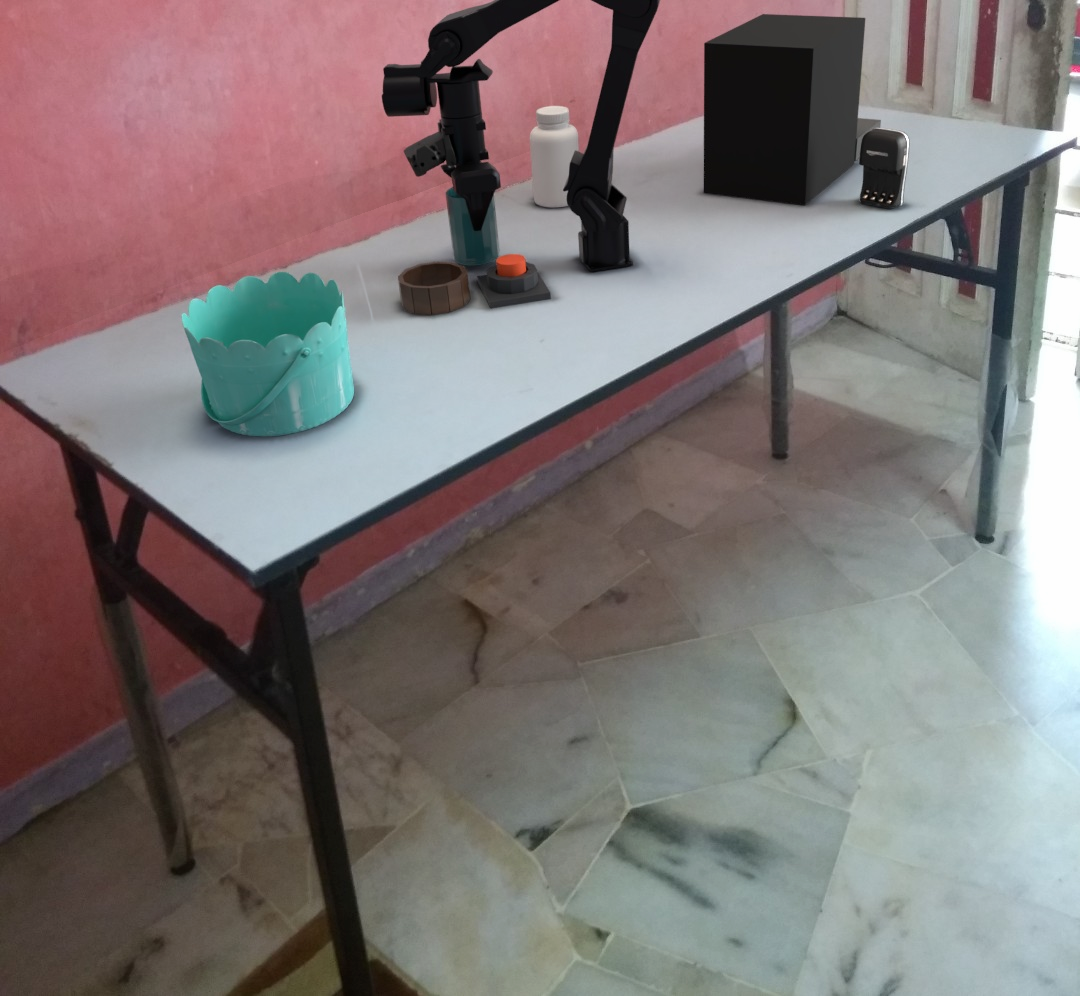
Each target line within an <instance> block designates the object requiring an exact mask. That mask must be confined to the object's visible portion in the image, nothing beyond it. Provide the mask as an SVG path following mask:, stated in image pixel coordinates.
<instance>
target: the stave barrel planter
mask: <svg viewBox="0 0 1080 996" xmlns="http://www.w3.org/2000/svg"><path fill="white" fill-rule="evenodd" d="M397 283H398V289H399V295H400V302H401V306H402V310H404V311H406V312H407V313H410V314H412V315H417V316H436V315H443V314H450V313H452V312H456V311H457V310H460V309H462V308H464V307H465V306H466V305H467V304H468V303H469V302H470V300H471V293H470V284H469V275H468V270H467V269H466V266H465V265H462V264H459V263H457V262H453V261H430V262H424V263H419V264H416V265H414V266H410V267H408V268H405V269H403V271H402V272H400V273H399V274H398V275H397Z"/></svg>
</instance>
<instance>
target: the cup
mask: <svg viewBox="0 0 1080 996" xmlns="http://www.w3.org/2000/svg"><path fill="white" fill-rule="evenodd" d="M445 201H446V209H447V218H448V226H449V233H450V241H451V251H452V256H453V260H454V263H456V264H459V265H462V266H482V265H486V264H490V263H492V262H494V261H496V260H497V258H499V257H500V251H501V249H500V242H499V231H498V222H497V221H498V220H497V209H496V199H495V194H494V195H493V198H492V200H491V203H490V206H489V209H488V212H487V215H486V218H485V221H484V224H483V227H482V230H480V231H474V229H473V226H472V223H471V220H470V216H469V213H468V210H467V206H466V203H465V199H464V198H462V197H461V196H459V195H457V194H456V193H455V191H454V190H453V188H452V187H450V188H448V189H447V190H446V191H445Z"/></svg>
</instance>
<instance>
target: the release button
mask: <svg viewBox="0 0 1080 996" xmlns="http://www.w3.org/2000/svg"><path fill="white" fill-rule="evenodd" d="M495 262H496V263H495V264H496V265H497V273H498V275H499V276H502V277H514V276H520V275H522V274H525V273H526V264H525V262H526V257H525V256H524V255H522V254H519V253H518V254H517V253H509V254H508V253H507V254H503V255H500V256H499V257H498V258H497V259H496V260H495Z"/></svg>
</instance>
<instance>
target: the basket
mask: <svg viewBox="0 0 1080 996" xmlns="http://www.w3.org/2000/svg"><path fill="white" fill-rule="evenodd" d="M205 297H206V298H205V301H204V300H203V299H201V298H193V299H191V300H190V301H189V303H188V309H187V311H188V312H187V313H188V314H186V313H185V312H183V313H181V316H180V317H181V322H182V326H183V329H184V332H185V335H186V338H187V341H188V343H189V346H190V351H191V352H192V355H193V358H194V362H195V364H196V366H197V369H198V373H199V375H200V378H201V384H200V394H201V395H200V396H201V402H202V407H203V408H204V411H205V413H206V414H207V416H208V417H209V418H210V419H211V420H213V421H215V422H217V423H218V424H219V426H221V428H223V429H225V430H227V431H230V432H232V433H236V434H237V435H238V434H239V435H243V436H249V437H253V436H254V437H275V436H277V437H278V436H279V437H280V436H285V435H290V434H296V433H300V432H304V431H307V430H311V429H313V428H316V427H319V426H321V425H323V424H325V423H328V422H330V421H331V420H332V419H334V418H336V417H337V416H339V415H340V414H341V413H342V412H344V411H345V410H346V409H347V408H348V406H349V405H350V404H351V403H352V401H353V398H354V396H355V394H354V393H355V386H354V382H353V381H354V379H353V378H354V377H353V371H352V370H353V369H352V363H351V355H350V354H351V353H350V347H349V339H348V338H349V337H348V327H347V326H348V321H347V319H346V307H345V302H344V300H345V299H344V291H343V290H341V292H340V289H339V286H338V283H337V282H336V281H335V279H329V280H328V281H327V283H326V284H325V282H324V280H323V279H322V278H321V276H320V275H319V274H317V273H315V272H307V273H304V274H303V276H302V277H301V278H300V279H299V280H297V278H296V277H295V276H294V275H293V274H291V273H289V272H287V271H277V272H275V273H273V274H272V275H270V277H269V278H268V280H267V282H264V281H263V280H262V279H261V278H259V277H257V276H254V275H246V276H243V277H241V278H240V279H239V280H237V282H236V283H235V285H234V288H233V290H232V289H230V288H229V287H228V286H225V285H220V284H218V285H214V286H213V287H211V288H210V289H209V290H208V292H207V294H206V296H205Z"/></svg>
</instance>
